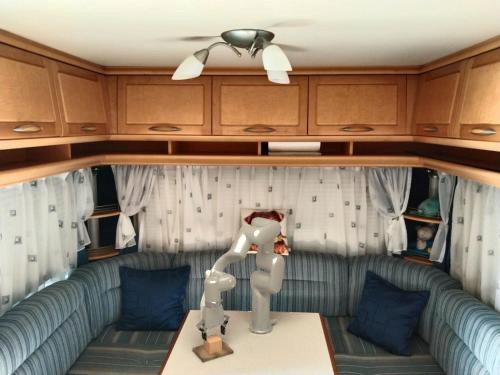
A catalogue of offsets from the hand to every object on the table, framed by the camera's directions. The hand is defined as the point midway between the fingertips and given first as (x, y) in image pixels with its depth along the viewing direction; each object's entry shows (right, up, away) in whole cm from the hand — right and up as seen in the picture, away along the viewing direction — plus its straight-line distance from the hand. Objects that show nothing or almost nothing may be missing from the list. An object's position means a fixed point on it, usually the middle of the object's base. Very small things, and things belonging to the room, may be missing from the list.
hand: (213, 336), depth 213 cm
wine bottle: (-5, -3, +31) cm, 31 cm away
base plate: (-1, -8, +1) cm, 8 cm away
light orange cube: (-1, -6, 0) cm, 6 cm away
